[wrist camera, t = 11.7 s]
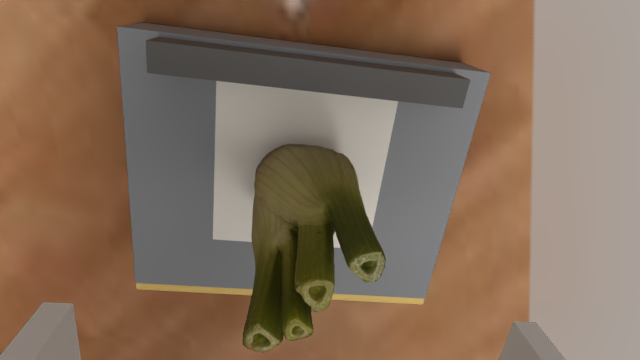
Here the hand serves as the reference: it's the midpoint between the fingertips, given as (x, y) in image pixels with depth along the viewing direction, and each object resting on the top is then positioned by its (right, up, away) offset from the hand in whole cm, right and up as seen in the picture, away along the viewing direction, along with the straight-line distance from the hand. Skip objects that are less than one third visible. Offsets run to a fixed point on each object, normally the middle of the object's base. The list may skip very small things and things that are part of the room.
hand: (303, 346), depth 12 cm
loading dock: (-1, +6, +16) cm, 17 cm away
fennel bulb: (-1, +5, +12) cm, 13 cm away
